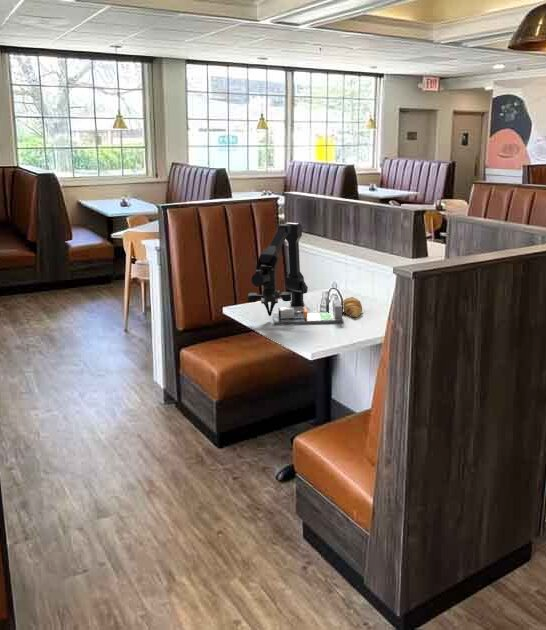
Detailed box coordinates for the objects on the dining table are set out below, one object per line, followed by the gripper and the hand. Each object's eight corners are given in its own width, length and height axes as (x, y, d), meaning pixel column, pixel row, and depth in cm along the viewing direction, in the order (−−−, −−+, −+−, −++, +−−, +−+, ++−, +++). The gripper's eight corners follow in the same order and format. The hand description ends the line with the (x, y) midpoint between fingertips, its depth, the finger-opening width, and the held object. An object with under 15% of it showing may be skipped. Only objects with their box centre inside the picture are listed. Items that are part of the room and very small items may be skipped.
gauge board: (273, 316, 283) (273, 300, 281) (339, 314, 284) (339, 299, 282) (274, 325, 271) (273, 309, 269) (343, 323, 271) (343, 307, 269)
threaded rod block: (278, 315, 279) (278, 307, 278) (302, 314, 279) (302, 306, 278) (278, 318, 274) (278, 310, 273) (303, 317, 275) (303, 309, 274)
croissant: (361, 326, 278) (370, 310, 277) (341, 316, 276) (350, 301, 274) (351, 311, 299) (359, 296, 297) (333, 302, 296) (341, 287, 294)
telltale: (303, 313, 280) (303, 307, 279) (306, 313, 280) (306, 307, 279) (304, 318, 273) (304, 311, 272) (307, 318, 273) (307, 311, 273)
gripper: (247, 286, 264) (248, 322, 268) (291, 285, 264) (292, 320, 269) (247, 280, 274) (248, 314, 279) (290, 279, 275) (290, 313, 279)
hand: (269, 315), depth 276 cm, fingers closed
